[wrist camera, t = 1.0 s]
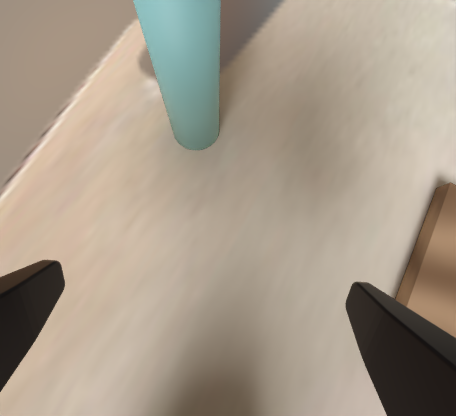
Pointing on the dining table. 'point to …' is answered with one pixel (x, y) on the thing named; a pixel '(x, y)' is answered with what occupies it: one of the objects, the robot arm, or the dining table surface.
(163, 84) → the post
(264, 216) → the dining table surface
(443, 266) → the base board
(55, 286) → the robot arm
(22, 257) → the dining table surface
